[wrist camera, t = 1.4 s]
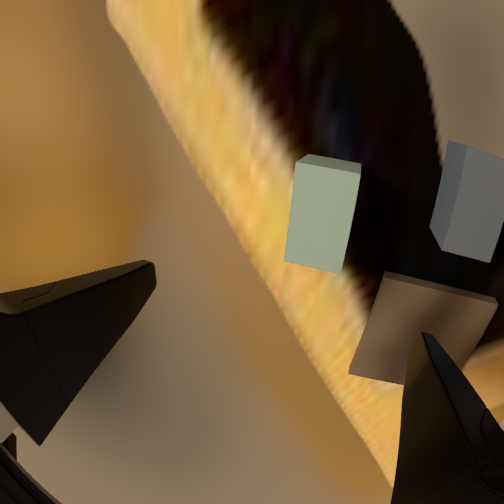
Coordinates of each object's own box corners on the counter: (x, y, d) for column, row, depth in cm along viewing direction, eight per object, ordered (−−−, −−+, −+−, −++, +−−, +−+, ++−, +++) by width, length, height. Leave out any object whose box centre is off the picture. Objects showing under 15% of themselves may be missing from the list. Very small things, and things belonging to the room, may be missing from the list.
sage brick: (361, 163, 18) (360, 174, 15) (345, 247, 21) (340, 274, 17) (308, 154, 19) (295, 162, 16) (298, 236, 22) (283, 260, 18)
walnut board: (494, 297, 17) (498, 304, 17) (444, 383, 22) (445, 391, 21) (384, 270, 20) (385, 277, 19) (349, 365, 25) (348, 373, 24)
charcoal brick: (491, 155, 14) (517, 164, 11) (471, 237, 17) (489, 262, 13) (447, 140, 15) (467, 145, 12) (429, 226, 18) (441, 250, 14)
